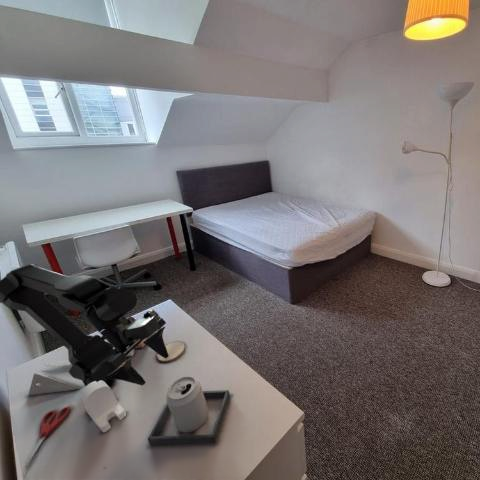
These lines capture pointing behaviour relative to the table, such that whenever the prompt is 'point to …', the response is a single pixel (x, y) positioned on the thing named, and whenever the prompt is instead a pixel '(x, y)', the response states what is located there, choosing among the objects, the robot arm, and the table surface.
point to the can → (187, 403)
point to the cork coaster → (172, 351)
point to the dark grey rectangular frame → (190, 439)
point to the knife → (66, 362)
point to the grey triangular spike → (48, 385)
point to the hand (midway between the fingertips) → (156, 369)
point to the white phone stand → (101, 404)
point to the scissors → (49, 427)
